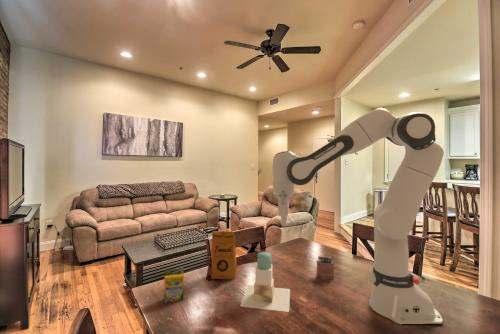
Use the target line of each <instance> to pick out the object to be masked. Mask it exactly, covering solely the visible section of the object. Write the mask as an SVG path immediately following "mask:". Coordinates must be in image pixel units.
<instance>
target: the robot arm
mask: <svg viewBox="0 0 500 334" xmlns="http://www.w3.org/2000/svg"><path fill="white" fill-rule="evenodd" d="M381 139H387V140H388V141H389V142H391V143H393V144H394V145H396V146H401V147H404V150H405V151H404V152H405V153H404V158H403V159H402V161H401V162H400V165H399V166H398V168H397V170H396V172H395V174H394V176H393V178H392V179H391V182H390V184H389V187H388V188H387V189H388V190H387V192H386V194H385V196H384V198H383V200H382V203H381V202H380V204H378V205H377V206H376V207H375V209H374V213H373V236H374V237H373V238H374V247H373V248H374V252H373V253H374V257H373V261H374V262H373V263H374V266H372V273H371V274H372V275H371V276H372V292H371V296H370V298H369V301H368V305H369V306H370V308H371V309H372V311H374V312H376V313H377V314H379V315H381V316H383V317H385V318H387V319H389V320H392V321H393V322H394V323H396V324H398V325H402V324H420V323H442V322H444V319H443V317H442V315H441V313H440V312H439V311H438V310H437V309H436V308H435V307H434V303H433V301H432V299H431V297H430V296H429V295H428V294H427V293H426V292H425V291H424V290H423V289H421V288H420V287H419V285H420V284H421V280H420V279H419V278H418V277H417V276H414V274H413V273H411V272H409V271H410V269H409V266H410V265H409V262H410V261H409V260H410V258H409V257H410V251H409V243H408V241H409V240H408V236H409V235H410V233H411V232H412V228H413V226H414V223H415V222H416V221H415V220H416V218H417V216H418V213H419V211H420V209H421V205H422V203H423V200H424V198H425V196H426V195H427V192H428V191H429V189H430V188H431V186H432V183H433V181H434V179H435V178H436V176H437V173H438V171H439V170H440V167H441V164H442V163H443V162H442V161H443V158H444V152H445V151H444V149H443V148H442V147H441V146H440V145H439V144H438V143H436V123H435V121H434V119H433V118H432V117H431V116H430V115H429V114H427V113H425V112H420V111H419V112H418V111H417V112H414V111H413V112H410V113H408V114H404V115H401V116H400V117H396V116H394V115H393V114H392V112H390V111H389V110H387V109H386V108H383V107H380V108H379V107H378V108H375V109H373V110H371V111H369V112H366V113H364V114H363V115H361V116H359V117H358V118H356V119H355V120H353V121H351V122H350V123H349V124H347V126H345V127H344V128H343V129H342V130H340V132H339V133H337V134H336V136H335V137H334V138H333V139H332V140H330V141H329V142H328V143H326V144H324V145H323V146H321V147H320V148H318V149H317V150H315V151H314V152H312V153H311V154H309V155H307V156H299V155H297V154H295V153H293V152H292V151H290V150H286V151H281V152H278V153H276V154H275V155H274V156H273V158H272V175H273V181H272V194H273V195H274V196H275V197H276V199H277V200H278V202H277V203H278V205H277V206H278V209H277V210H278V212H277V213H278V216H279V217H280V219H281V226H282V227H286V226H287V221H288V220H287V219H288V216H289V211H290V209H289V207H290V199H292V195H295V185H297V186H304V185H305V186H306V185H307V184H308V183H310V182H311V181H313V179H314V178H315V177H316V176H317V173H318V172H319V171H320V170H321V169H322V168H324V167H326V166H327V165H329V164H330V163H332V162H334V161H335V160H337V159H338V158H341V157H344V156H347V155H352V154H355V153H358V152H361V151H363V150H365V149H367V148H368V147H371V146H372V145H373V144H375V143H376V142H378V141H380V140H381ZM438 317H440V318H438Z"/></svg>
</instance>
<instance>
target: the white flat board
mask: <svg viewBox="0 0 500 334" xmlns="http://www.w3.org/2000/svg"><path fill="white" fill-rule="evenodd" d="M290 297H291V289H290V288H284V287H283V288H282V287H274V295H273V301H272V303H269V302H260V301H254V284H253V285H252V284H248V285H247V287H246V291H245V292H244V295H243V297H242V300H241V302H240V304H239V305H240V306H239V307H243V308H251V309H258V310H269V311H277V312H286V313H289V312H290V301H291V299H290Z"/></svg>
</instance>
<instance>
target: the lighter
mask: <svg viewBox="0 0 500 334" xmlns="http://www.w3.org/2000/svg"><path fill="white" fill-rule="evenodd" d="M334 270H335V262H334V261H333V260H332V256H328V255H324V256H321V255H319V256H318V260H316V278H317V279H320V280H334V279H335V271H334Z"/></svg>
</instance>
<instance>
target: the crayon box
mask: <svg viewBox="0 0 500 334" xmlns="http://www.w3.org/2000/svg"><path fill="white" fill-rule="evenodd" d="M184 269H185V268H173V269H165V270H164V279H163V280H164V289H163V292H164V297H163V299H164V300H163V302H164V303H170V302H177V301H184V300H185V299H184V297H185V292H184V291H185V288H184V287H185V286H184V285H185V283H184V281H185V278H184V277H185V275H184V274H185V273H184ZM174 271H175V272H174Z"/></svg>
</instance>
